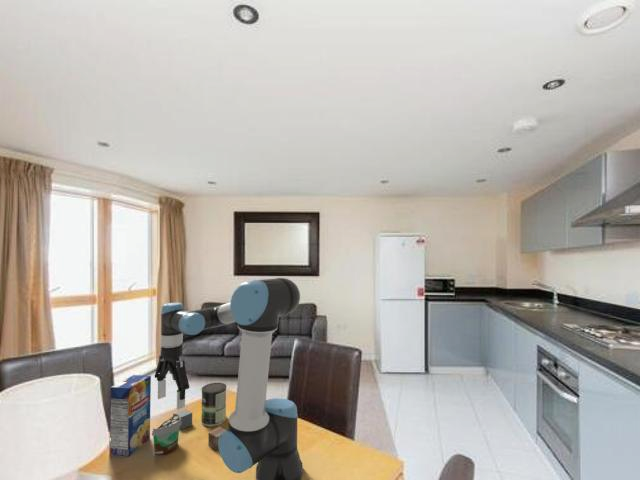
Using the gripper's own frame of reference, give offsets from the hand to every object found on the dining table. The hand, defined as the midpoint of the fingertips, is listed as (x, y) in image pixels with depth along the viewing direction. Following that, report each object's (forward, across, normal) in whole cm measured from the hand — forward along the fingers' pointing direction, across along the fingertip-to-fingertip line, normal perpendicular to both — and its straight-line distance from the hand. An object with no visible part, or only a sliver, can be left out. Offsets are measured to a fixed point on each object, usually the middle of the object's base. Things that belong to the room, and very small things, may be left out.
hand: (170, 402), depth 121 cm
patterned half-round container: (+17, 0, 0) cm, 17 cm away
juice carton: (+17, +14, +8) cm, 23 cm away
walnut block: (+17, -12, -12) cm, 24 cm away
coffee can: (+17, +5, -22) cm, 28 cm away
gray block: (+17, +12, -12) cm, 24 cm away
